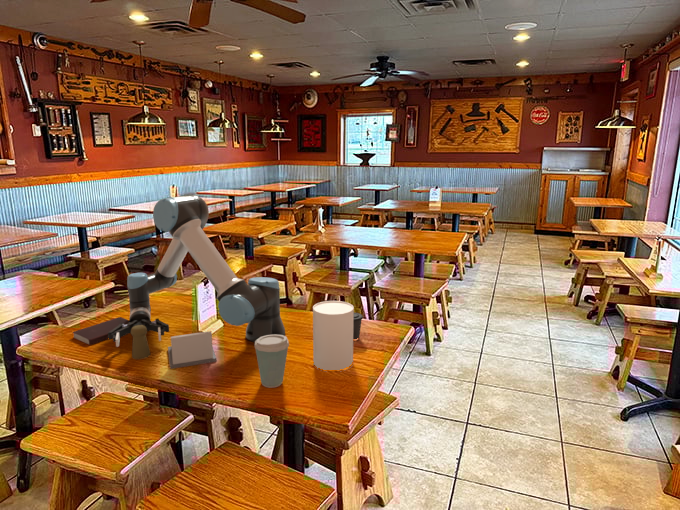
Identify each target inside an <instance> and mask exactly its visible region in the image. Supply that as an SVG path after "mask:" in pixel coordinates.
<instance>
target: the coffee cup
mask: <svg viewBox="0 0 680 510" xmlns="http://www.w3.org/2000/svg"><path fill="white" fill-rule="evenodd" d="M362 319H364V317H363V314H361V313H359V312H354V318H353V339H357V338H359V339H360V337H361V336H360V333H361V327H362Z"/></svg>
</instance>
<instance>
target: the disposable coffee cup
mask: <svg viewBox="0 0 680 510" xmlns="http://www.w3.org/2000/svg"><path fill="white" fill-rule="evenodd" d="M289 342H290V341H289V339H288V337H287V336H286V335H285V336H283V335H276V334H274V335H266V336H262V337H260V338H258V339H257V340H256V341H255V342H254V349H255V354H256V359H257V365H258V370H259V371H258V372H259V376H260V377H259V378H260V382H261V384H262V385H261V386H263V387H265V388H270V389H271V388H277V387H280V386H281V385H282V384H283V382H284V378H285V377H284V375H285V369H286V363H287V357H288V356H287V355H288V350H289V349H288V348H289V346H290V343H289Z"/></svg>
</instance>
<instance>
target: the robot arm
mask: <svg viewBox="0 0 680 510" xmlns="http://www.w3.org/2000/svg"><path fill="white" fill-rule="evenodd" d="M209 211H210V210H209V207H208V204H207V203H206V201H205V200H204V199H203V198H201V197H200V196H198V195H196V194H195V195H194V194H187V195H180V196H174V197H173V196H168V197H166V198H162V199H159V200H158V201H156V203H155V204H154V206H153V210H152V219H153V222H154V225H155V226H156V228H157V229H158V230H159V231H162V232H164V233H165V232H166V233H168V232H169V234H170V235H171V237H172V239H171V242H170V243H169V245H168V247H167V249H166V251H165V253H164V255H163V257H162V259H161V260H160V263H159V264H158V267H157V268H156V270H155V272H154V273H152V274H148V273H145V272H135V273H131V274H129V275H127V279H126V280H127V281H126V282H127V285H126V286H127V290H128V299H129V300H128V302H129V311H130V312H129V319H128V320H129V323H128V324H127V325H124V324H123V323H120V324H119V325H118V326H117V327H115V328H114V329H113V330H111V331H110V332H108V338H109V339H108V340H112V341H113V342H114V343H115V347H116V348H118V347H120V339H121V338H122V337H124V336H127V335H128V334H131V329H132V327H134V326H137V325H144V326H145V327H146V328H147V332H155V333H157V334H158V342H161V341H162V336H164V335H165V333H168V332H170V325H169V324H168V323H165V322H163V321H162V320H160V319H159V318H155V320H154V321H152V320H151V308H152V307H151V305H150V304H151V303H150V302H151V301H150V294H153V293H156V292H159V291H162V290H164V289H167V288H170V287H172V286H174V285H175V284H176V283H177V281H178V280H177V278H178V275H177V272H178V270H179V269H180V266H181V265H182V262H183V261H184V259H185V257H186V256H187V253H189V255H190V256H191V258H192V259H193V260H194V261H195V263H196V264H197V265H198V267H199V268H200V270H201V271H202V272H203V274H204V275H205V277H206V278H207V280H208V281H209V283H211V285H212V286H213V288H214V289H215V291H216V292H217V296H216V300H217V301H218V306H217V307H218V313H219V316H220V317H221V318H222V319H223V321H225V322H226V323H227V324H229V325H231V326H235V327H238V326H243V325H244V324H247V326H246V329H245V338H246V340H248V341H249V342H253V343H255V341H256V340H257V339H258V338H260V337H262V336H266V335H274V334H276V335H283V336H286V329H285V325H284V323H283V320H282V318H281V304H280V303H281V302H280V301H281V300H280V299H281V298H280V297H281V295H280V294H281V293H280V289H281V288H280V282H279V281H278V279H276V278H272V277H266V276H265V277H263V276H261V277H260V276H258V277H257V276H256V277H251V278H249V279H248V280H247V282H246V280H245V279H244V278H243V279H242V278H239V277H238V276H237V275H236V274H235V272H234V271H233V270H232V268H231V267H230V266H229V264H228V263H227V261H226V260H225V258H224V257H223V256H222V255H221V253H220V252H219V251H218V249H217V248H216V246H215V244H213V242H212V241H211V240H210V238H209V237H208V235H207V234H206V233H205V231H204V228H205V227H206V225H207V223H208V219H209V216H210V215H209Z"/></svg>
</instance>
